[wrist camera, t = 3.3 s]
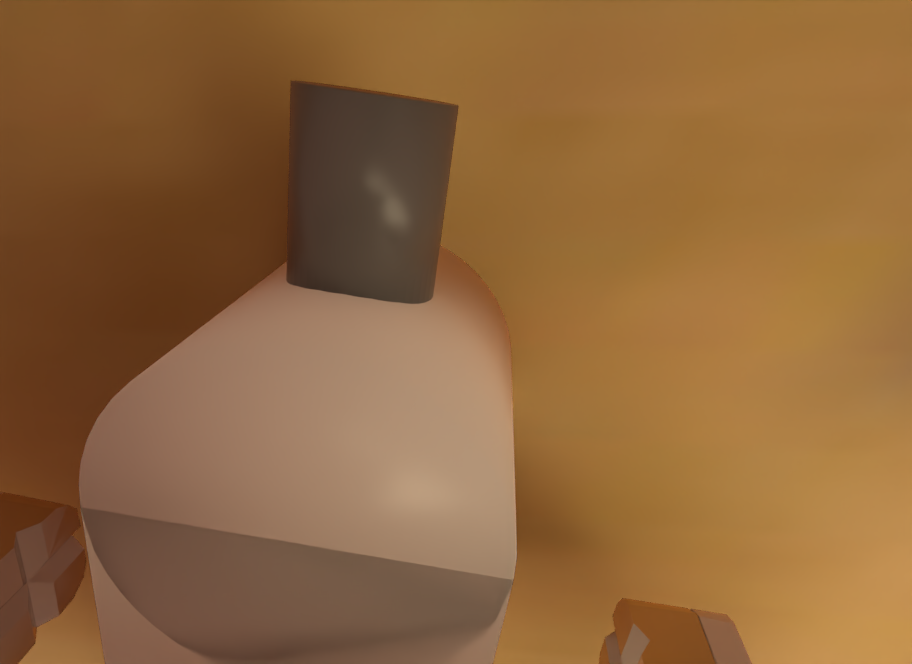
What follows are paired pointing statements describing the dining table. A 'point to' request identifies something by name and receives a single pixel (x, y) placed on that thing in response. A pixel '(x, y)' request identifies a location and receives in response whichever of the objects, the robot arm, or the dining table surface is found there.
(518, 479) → the dining table surface
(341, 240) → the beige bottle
